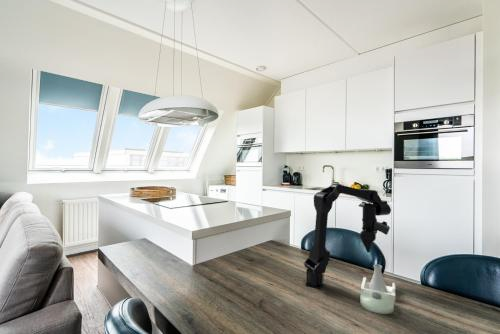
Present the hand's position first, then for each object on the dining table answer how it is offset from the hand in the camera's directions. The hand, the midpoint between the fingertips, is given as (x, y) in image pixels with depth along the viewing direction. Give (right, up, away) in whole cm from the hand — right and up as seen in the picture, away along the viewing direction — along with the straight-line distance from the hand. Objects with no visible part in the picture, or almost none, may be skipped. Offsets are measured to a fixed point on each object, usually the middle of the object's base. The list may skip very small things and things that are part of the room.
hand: (369, 249), depth 120 cm
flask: (-4, -12, -16) cm, 20 cm away
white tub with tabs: (-7, -12, -21) cm, 25 cm away
